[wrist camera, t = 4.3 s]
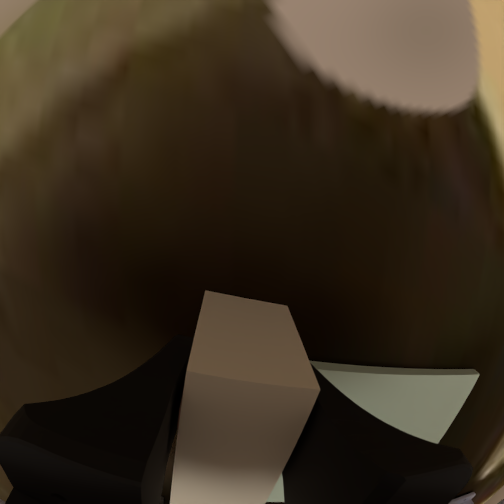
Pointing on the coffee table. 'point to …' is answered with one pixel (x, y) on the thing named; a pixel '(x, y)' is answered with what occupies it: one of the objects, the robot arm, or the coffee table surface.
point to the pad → (400, 398)
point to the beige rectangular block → (240, 402)
